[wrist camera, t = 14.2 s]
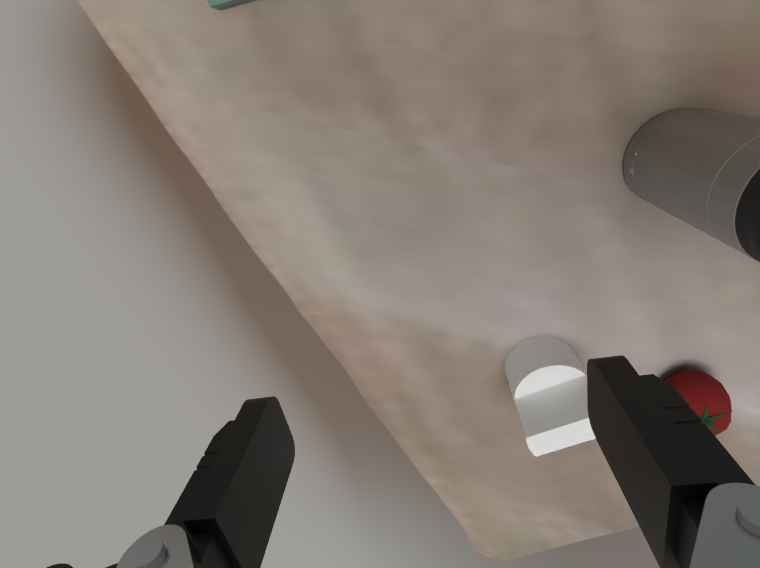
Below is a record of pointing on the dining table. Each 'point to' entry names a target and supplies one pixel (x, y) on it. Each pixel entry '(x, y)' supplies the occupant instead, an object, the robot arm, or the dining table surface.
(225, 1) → the tray
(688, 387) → the tomato
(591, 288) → the dining table surface
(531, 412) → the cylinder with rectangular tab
